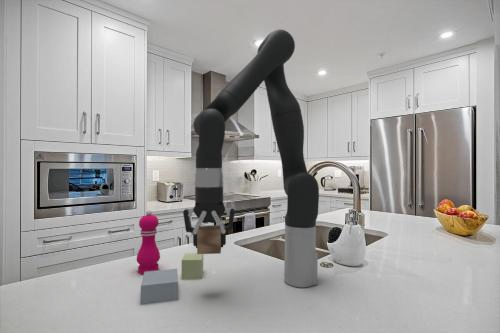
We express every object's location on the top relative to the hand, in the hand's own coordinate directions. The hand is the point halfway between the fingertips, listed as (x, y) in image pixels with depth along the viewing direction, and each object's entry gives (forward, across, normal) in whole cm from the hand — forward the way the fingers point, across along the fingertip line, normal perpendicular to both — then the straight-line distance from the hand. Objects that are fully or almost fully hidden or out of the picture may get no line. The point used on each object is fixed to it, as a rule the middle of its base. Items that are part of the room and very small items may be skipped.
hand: (209, 246), depth 72 cm
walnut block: (+1, 0, 0) cm, 1 cm away
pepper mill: (+13, +21, -17) cm, 30 cm away
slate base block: (+13, +14, -1) cm, 19 cm away
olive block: (+13, +6, -13) cm, 20 cm away
